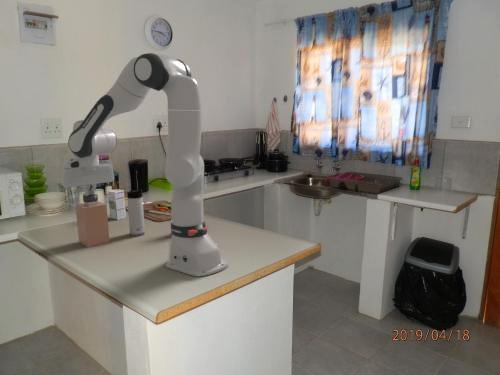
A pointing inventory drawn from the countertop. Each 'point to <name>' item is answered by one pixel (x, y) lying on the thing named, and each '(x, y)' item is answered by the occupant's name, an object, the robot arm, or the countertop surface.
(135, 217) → the travel mug
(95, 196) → the pump head
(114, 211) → the syrup box
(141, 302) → the countertop surface
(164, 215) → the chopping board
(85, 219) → the dispenser
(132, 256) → the countertop surface
